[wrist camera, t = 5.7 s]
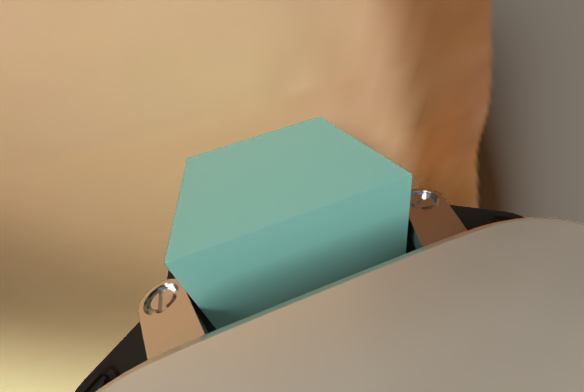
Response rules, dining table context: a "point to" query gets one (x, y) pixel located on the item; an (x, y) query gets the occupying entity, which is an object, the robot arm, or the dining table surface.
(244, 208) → the teal block
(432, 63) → the dining table surface
